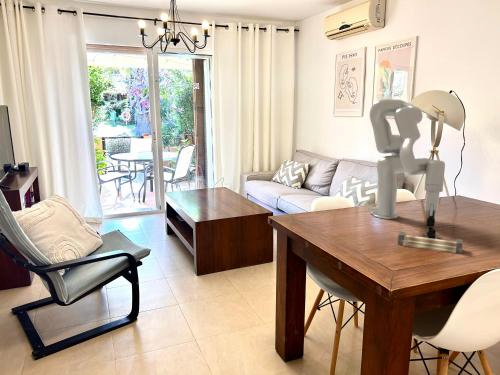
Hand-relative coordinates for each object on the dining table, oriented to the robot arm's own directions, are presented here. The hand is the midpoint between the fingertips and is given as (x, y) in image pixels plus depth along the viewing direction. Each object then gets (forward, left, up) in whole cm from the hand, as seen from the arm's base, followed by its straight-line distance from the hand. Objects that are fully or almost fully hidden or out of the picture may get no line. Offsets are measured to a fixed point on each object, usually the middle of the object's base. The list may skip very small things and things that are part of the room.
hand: (430, 226), depth 174 cm
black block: (+1, -13, -2) cm, 13 cm away
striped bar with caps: (+1, -26, -1) cm, 26 cm away
